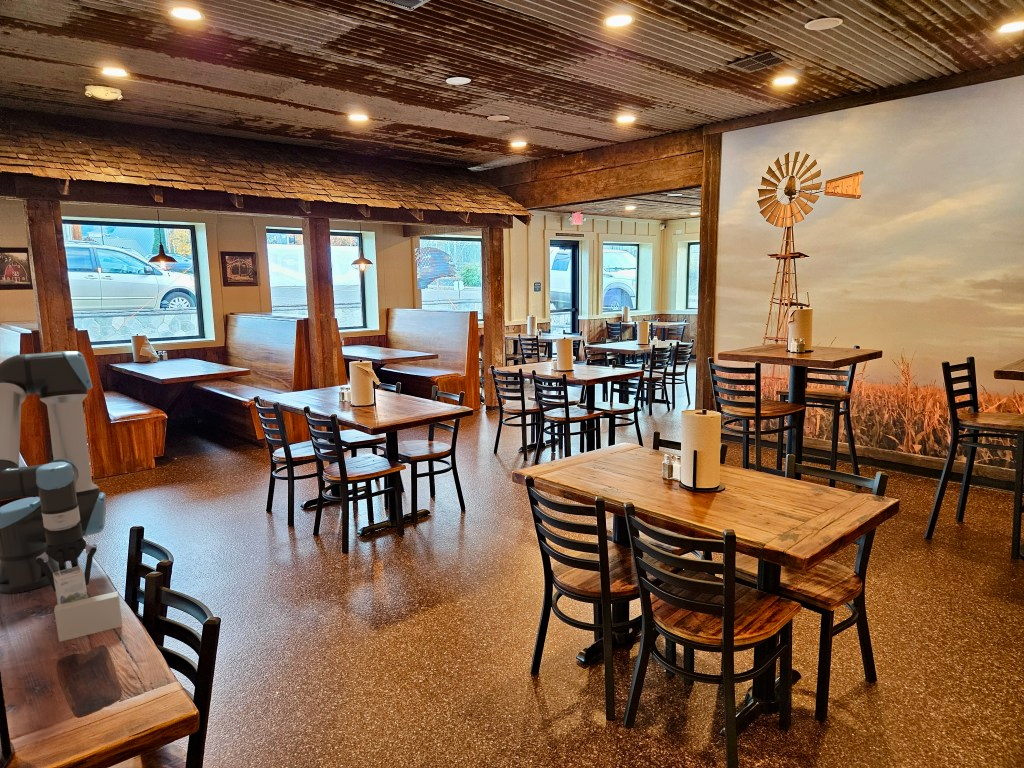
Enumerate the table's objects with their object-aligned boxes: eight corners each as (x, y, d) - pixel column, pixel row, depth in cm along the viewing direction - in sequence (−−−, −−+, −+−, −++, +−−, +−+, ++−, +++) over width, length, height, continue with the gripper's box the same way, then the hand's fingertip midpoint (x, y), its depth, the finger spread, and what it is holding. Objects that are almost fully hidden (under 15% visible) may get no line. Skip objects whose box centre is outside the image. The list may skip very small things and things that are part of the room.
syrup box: (87, 617, 169) (79, 564, 167) (92, 626, 165) (84, 571, 162) (60, 626, 166) (52, 571, 163) (64, 635, 161) (56, 579, 159)
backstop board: (60, 635, 161) (55, 605, 160) (122, 620, 167) (118, 591, 166) (59, 641, 158) (54, 610, 157) (122, 626, 165) (117, 596, 163)
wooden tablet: (126, 696, 136) (67, 712, 130) (126, 706, 136) (67, 723, 130) (106, 641, 157) (55, 653, 150) (106, 650, 157) (55, 662, 151)
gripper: (28, 536, 158) (43, 627, 163) (93, 524, 164) (105, 612, 169) (32, 525, 164) (46, 613, 169) (94, 514, 171) (106, 599, 175)
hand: (76, 612), depth 169 cm, fingers closed
